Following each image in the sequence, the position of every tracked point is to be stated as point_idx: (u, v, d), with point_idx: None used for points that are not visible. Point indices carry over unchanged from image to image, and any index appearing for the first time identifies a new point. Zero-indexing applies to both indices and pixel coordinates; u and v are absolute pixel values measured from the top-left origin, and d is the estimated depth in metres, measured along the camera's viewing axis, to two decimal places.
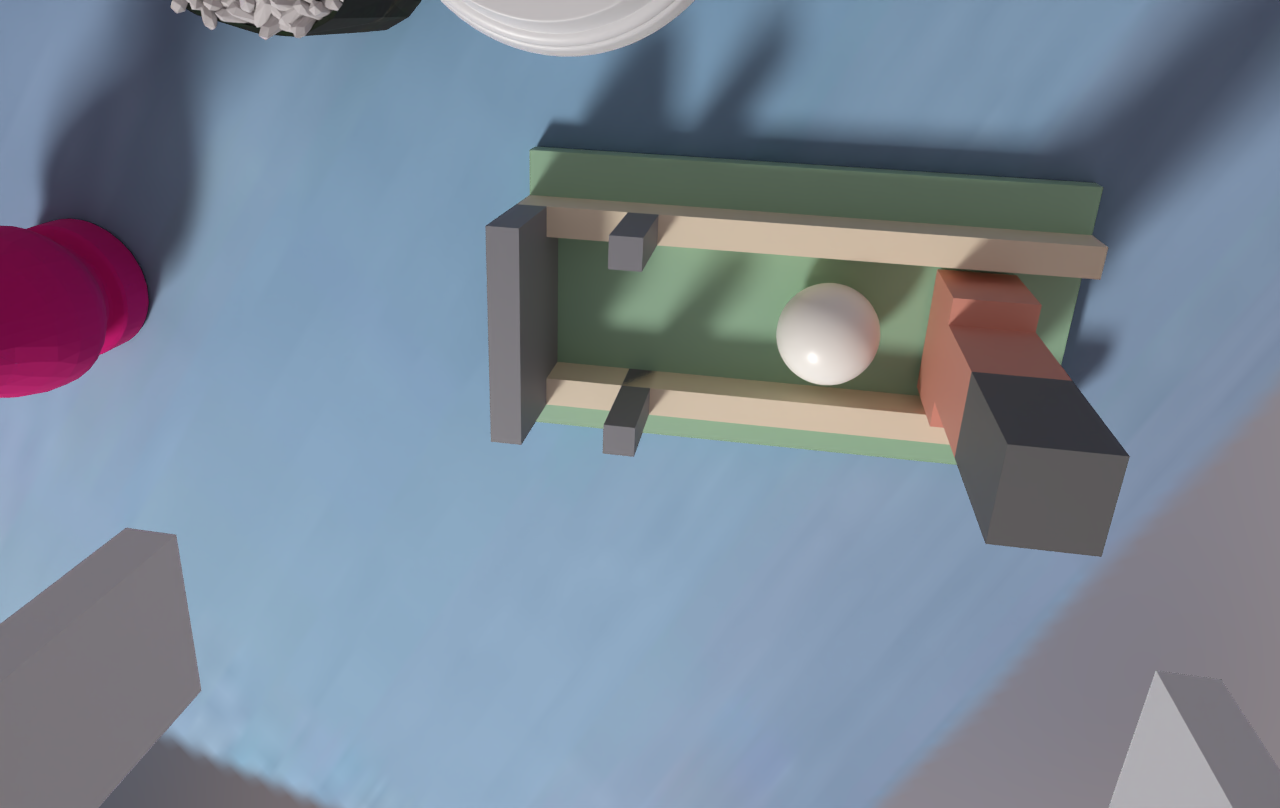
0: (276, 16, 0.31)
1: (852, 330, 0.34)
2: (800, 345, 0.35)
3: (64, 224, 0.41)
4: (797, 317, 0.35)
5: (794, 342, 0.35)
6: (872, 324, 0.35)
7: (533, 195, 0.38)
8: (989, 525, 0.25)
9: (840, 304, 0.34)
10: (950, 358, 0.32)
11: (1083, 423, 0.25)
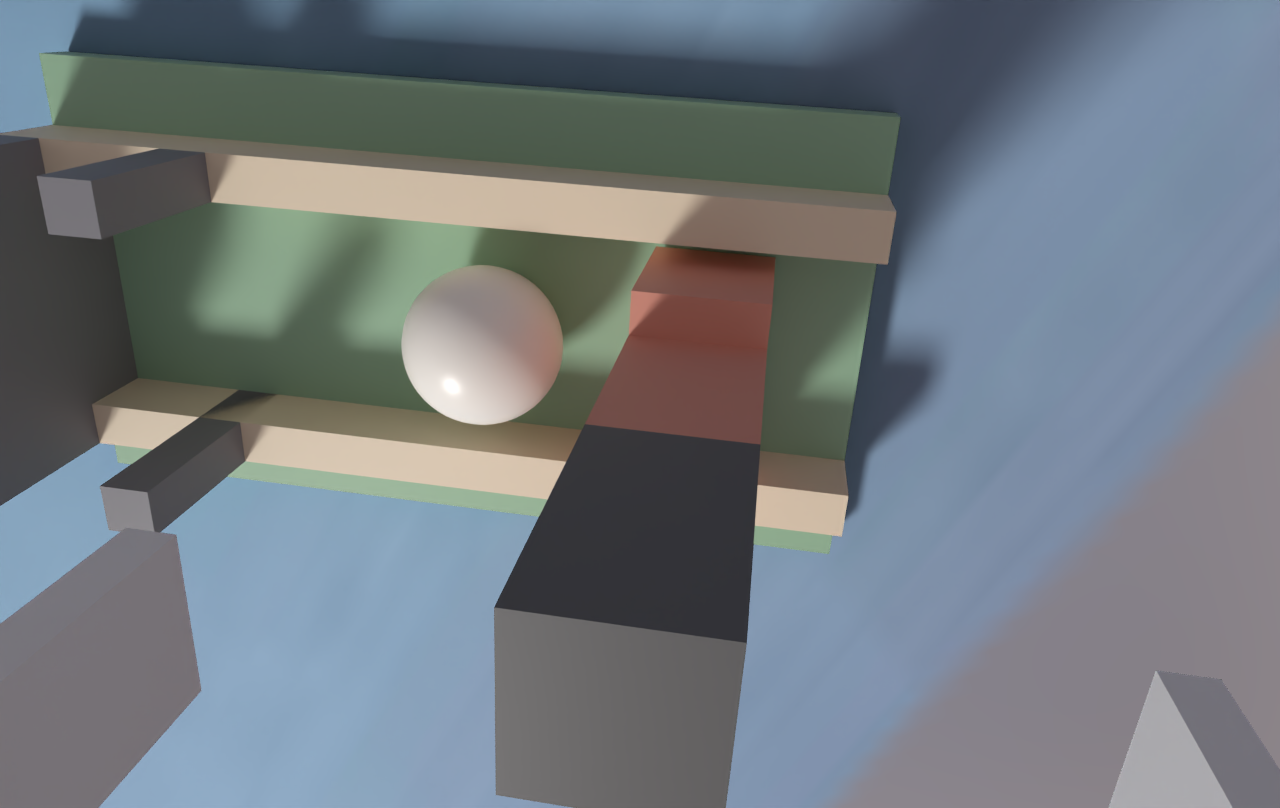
0: None
1: (492, 341, 0.21)
2: (417, 363, 0.22)
3: None
4: (415, 318, 0.22)
5: (411, 358, 0.22)
6: (532, 331, 0.22)
7: (56, 125, 0.25)
8: (497, 760, 0.12)
9: (477, 299, 0.21)
10: None
11: (708, 547, 0.12)
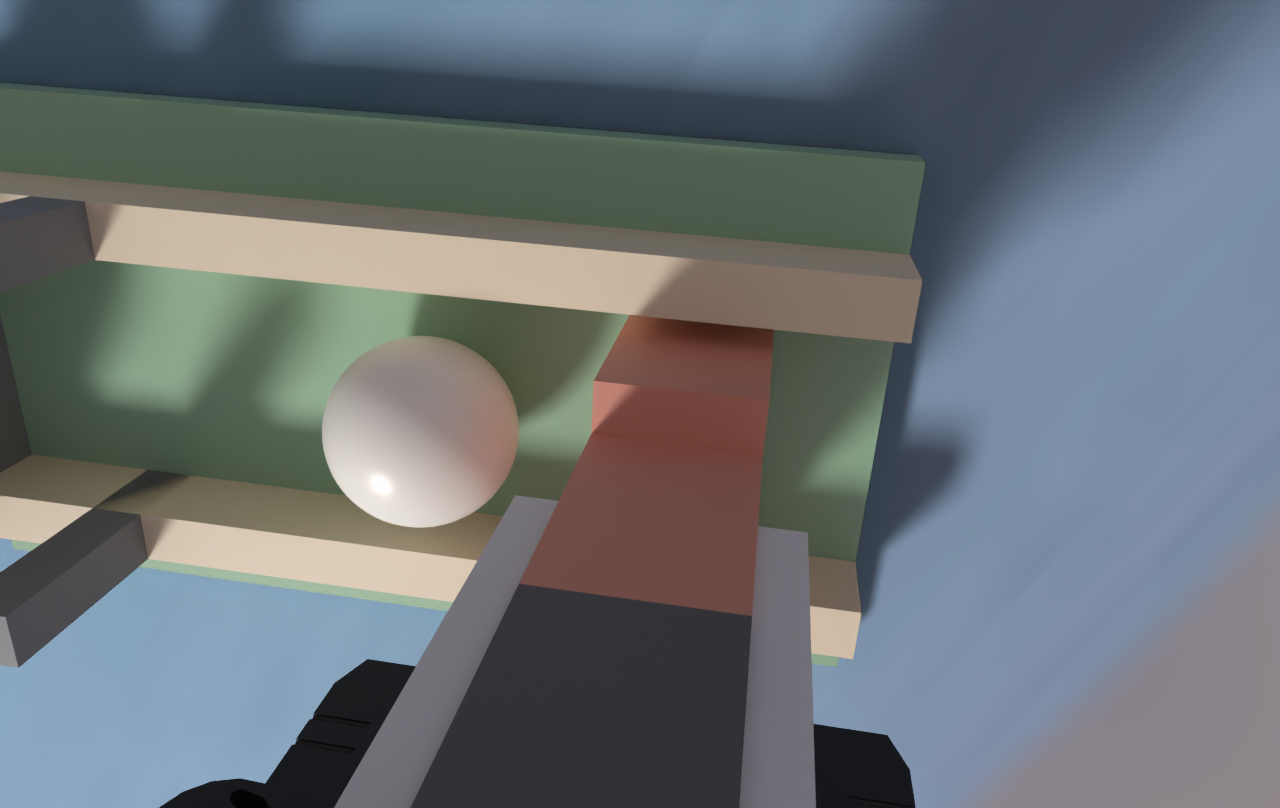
0: None
1: (427, 434, 0.17)
2: (337, 459, 0.18)
3: None
4: (335, 404, 0.18)
5: (331, 452, 0.18)
6: (478, 420, 0.18)
7: None
8: None
9: (409, 381, 0.18)
10: None
11: None
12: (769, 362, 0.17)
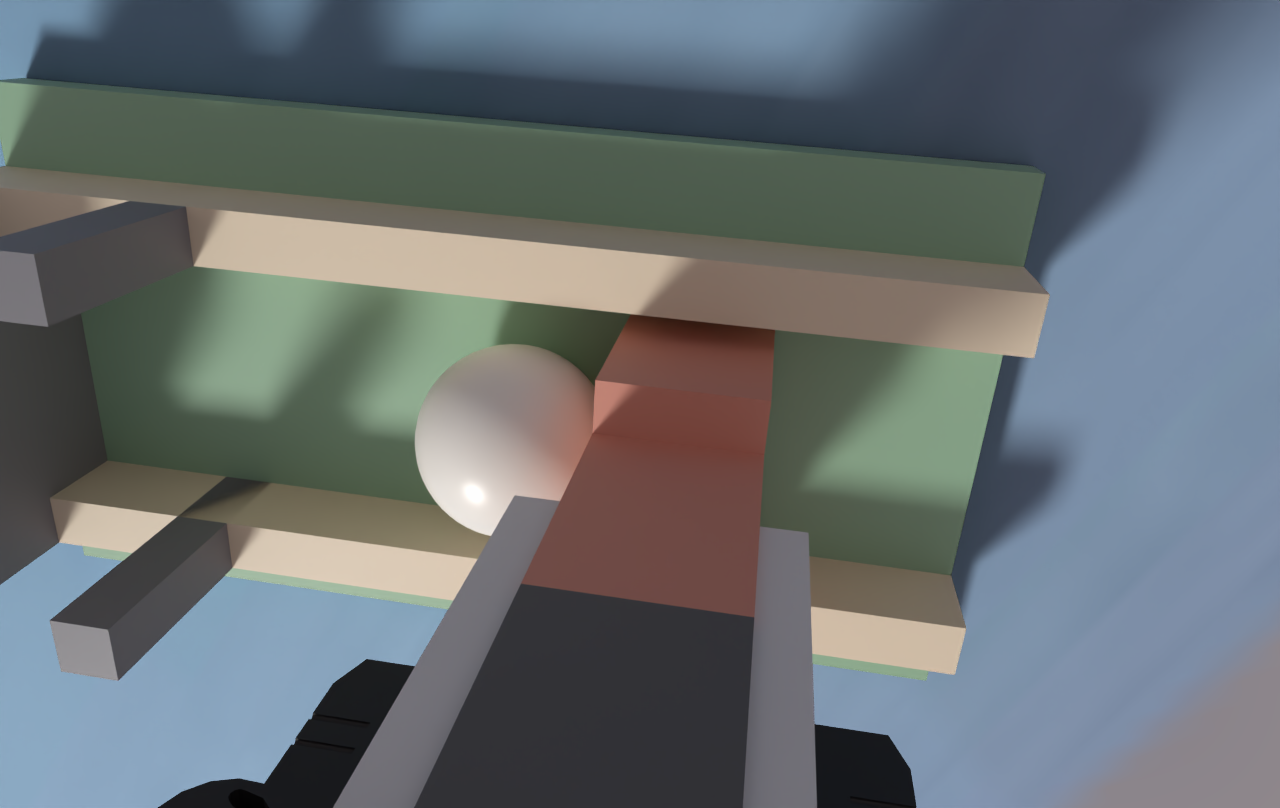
0: None
1: (526, 446, 0.17)
2: (432, 468, 0.18)
3: None
4: (431, 412, 0.18)
5: (425, 461, 0.18)
6: (575, 431, 0.18)
7: (9, 167, 0.20)
8: None
9: (508, 392, 0.17)
10: None
11: None
12: (771, 362, 0.17)
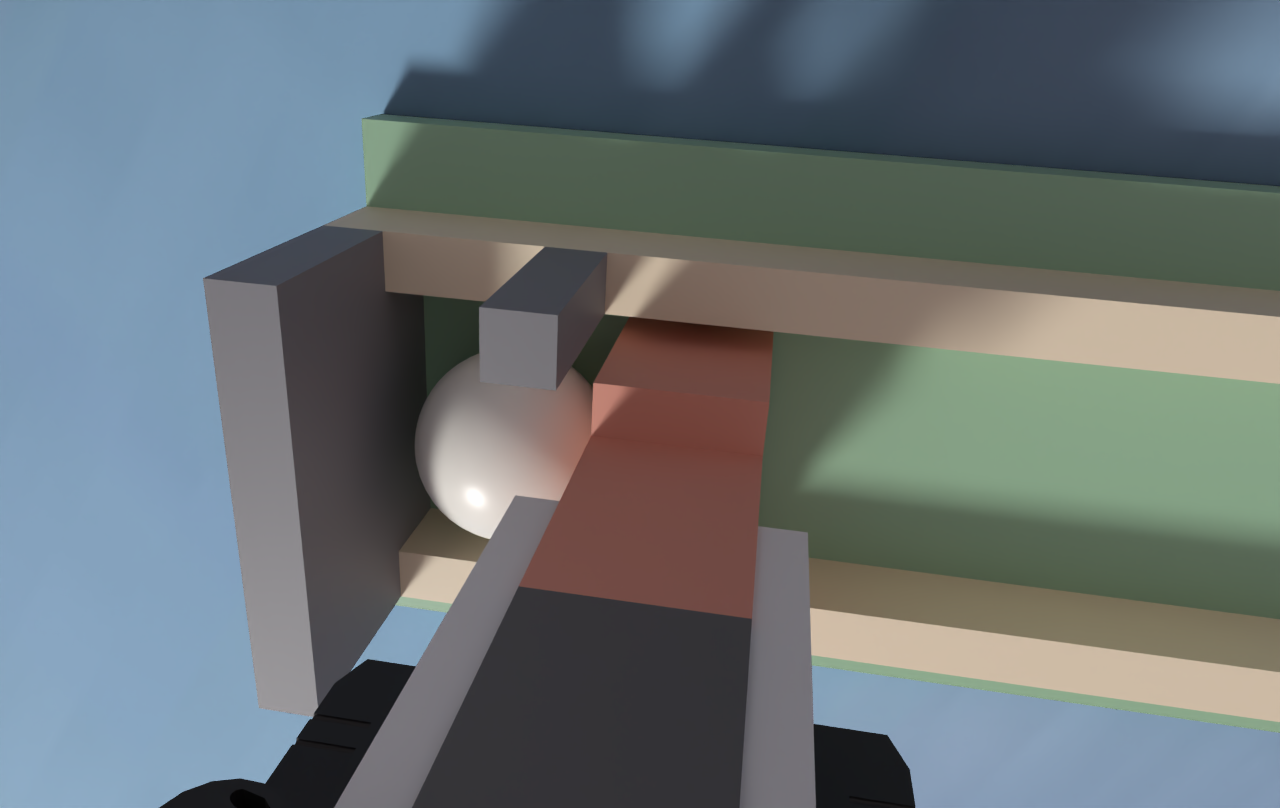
0: None
1: None
2: None
3: None
4: (589, 421, 0.18)
5: None
6: None
7: (372, 207, 0.20)
8: None
9: None
10: None
11: None
12: (769, 364, 0.17)
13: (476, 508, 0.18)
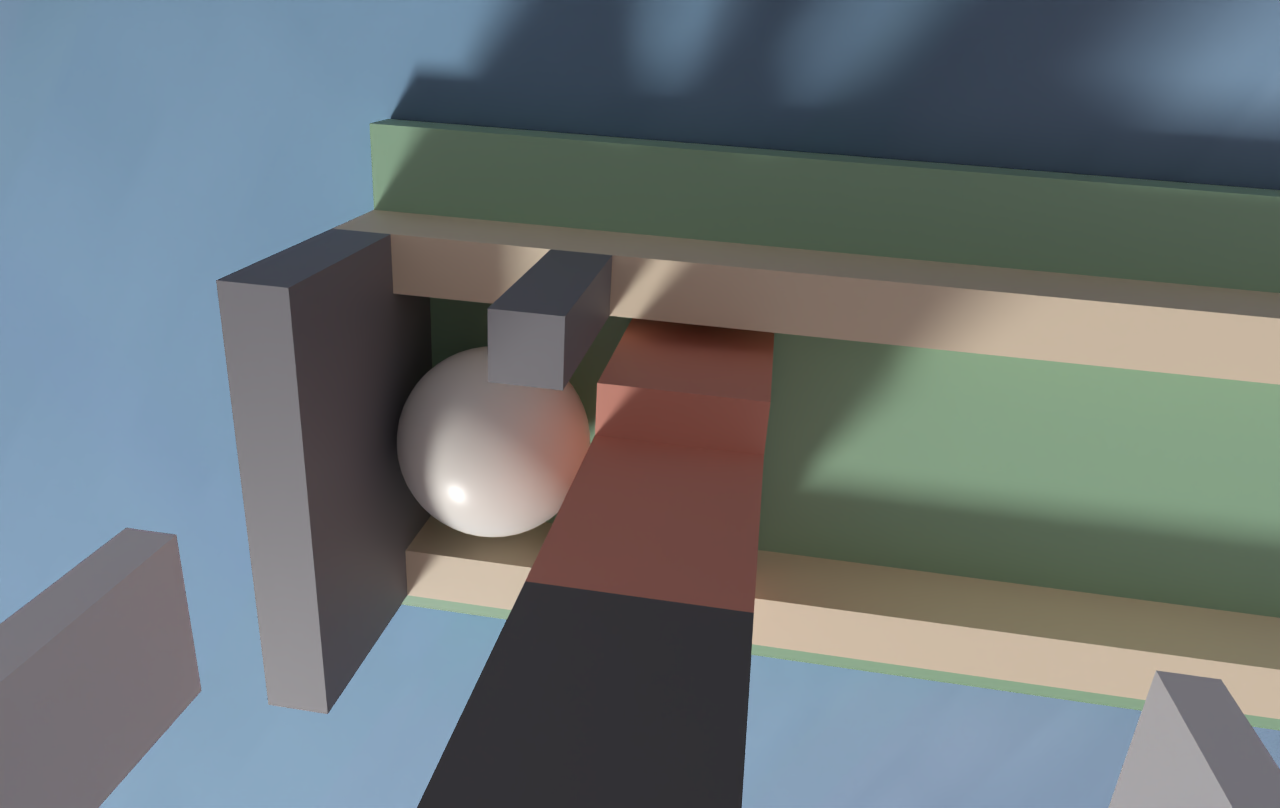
0: None
1: None
2: (574, 465, 0.19)
3: None
4: (552, 426, 0.18)
5: (566, 468, 0.18)
6: None
7: (380, 210, 0.20)
8: None
9: None
10: None
11: None
12: (770, 365, 0.17)
13: (433, 498, 0.18)
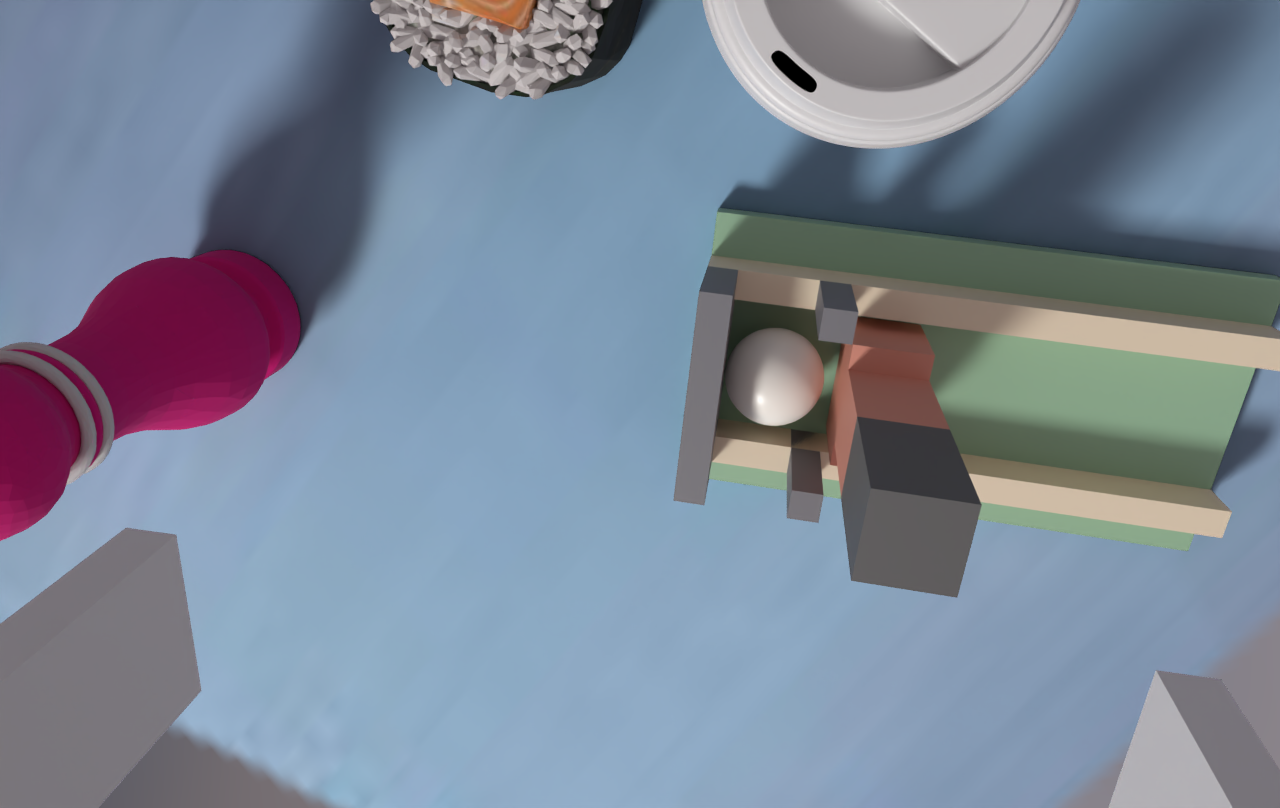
0: (512, 76, 0.31)
1: None
2: (820, 389, 0.37)
3: (227, 256, 0.41)
4: (813, 367, 0.36)
5: (817, 389, 0.37)
6: None
7: (715, 256, 0.38)
8: (854, 563, 0.26)
9: (807, 340, 0.37)
10: (846, 401, 0.34)
11: (948, 471, 0.27)
12: (926, 340, 0.36)
13: (752, 400, 0.36)
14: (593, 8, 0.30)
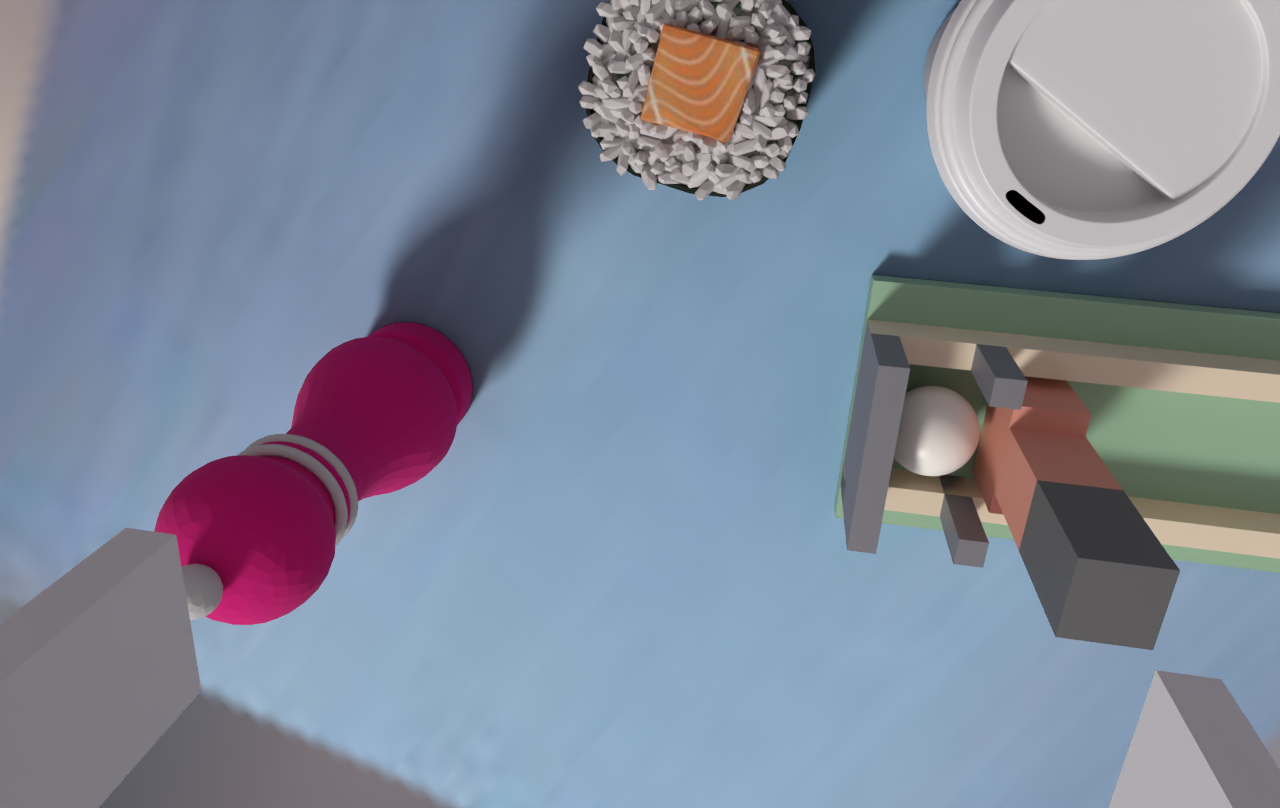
0: (710, 179, 0.34)
1: None
2: (977, 442, 0.40)
3: (410, 330, 0.45)
4: (973, 423, 0.39)
5: (976, 443, 0.40)
6: None
7: (871, 320, 0.41)
8: (1059, 622, 0.30)
9: None
10: (1012, 459, 0.37)
11: (1138, 536, 0.30)
12: (1077, 396, 0.39)
13: (918, 456, 0.39)
14: (788, 119, 0.33)
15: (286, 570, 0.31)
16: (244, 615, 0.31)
